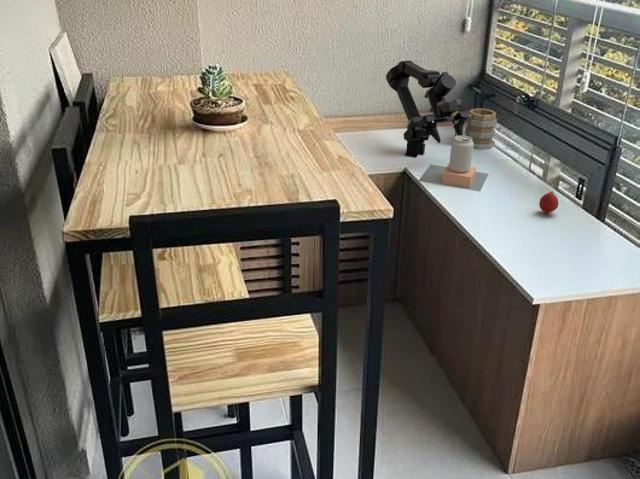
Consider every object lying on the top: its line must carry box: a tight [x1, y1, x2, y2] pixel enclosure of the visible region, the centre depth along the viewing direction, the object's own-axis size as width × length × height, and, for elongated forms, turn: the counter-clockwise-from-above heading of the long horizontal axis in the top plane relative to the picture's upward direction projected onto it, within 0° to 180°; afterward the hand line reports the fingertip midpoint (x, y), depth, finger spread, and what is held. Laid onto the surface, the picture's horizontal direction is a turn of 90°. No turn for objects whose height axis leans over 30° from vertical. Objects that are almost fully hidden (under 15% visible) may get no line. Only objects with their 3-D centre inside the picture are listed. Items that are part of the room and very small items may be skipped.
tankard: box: [451, 108, 498, 150], centre depth 266 cm, size 20×13×15 cm, turn 104°
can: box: [448, 135, 474, 173], centre depth 227 cm, size 8×8×12 cm
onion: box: [538, 190, 559, 215], centre depth 209 cm, size 6×6×8 cm
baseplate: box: [418, 164, 489, 192], centre depth 234 cm, size 22×18×1 cm
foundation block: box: [441, 163, 477, 188], centre depth 231 cm, size 10×10×4 cm
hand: (450, 141), depth 232 cm, fingers open, 9 cm apart
